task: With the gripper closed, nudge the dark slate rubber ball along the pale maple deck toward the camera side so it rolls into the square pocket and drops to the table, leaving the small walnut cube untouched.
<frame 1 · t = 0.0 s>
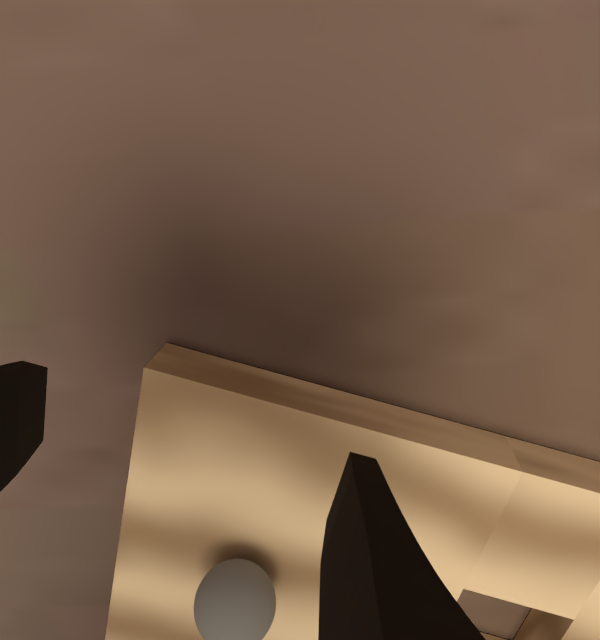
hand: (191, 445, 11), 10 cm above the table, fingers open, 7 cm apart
ball: (235, 603, 21), point 4 cm above the table, touching deck
deck: (387, 567, 25), on the table
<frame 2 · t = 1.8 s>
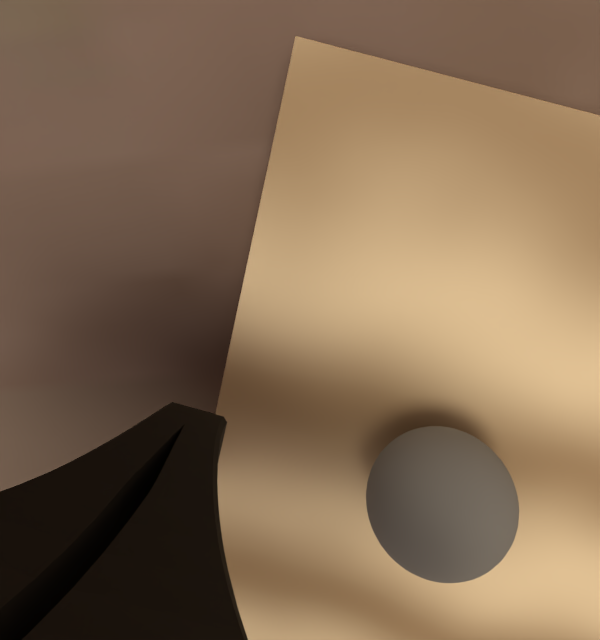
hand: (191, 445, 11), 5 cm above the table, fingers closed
ball: (439, 500, 12), point 4 cm above the table, touching deck
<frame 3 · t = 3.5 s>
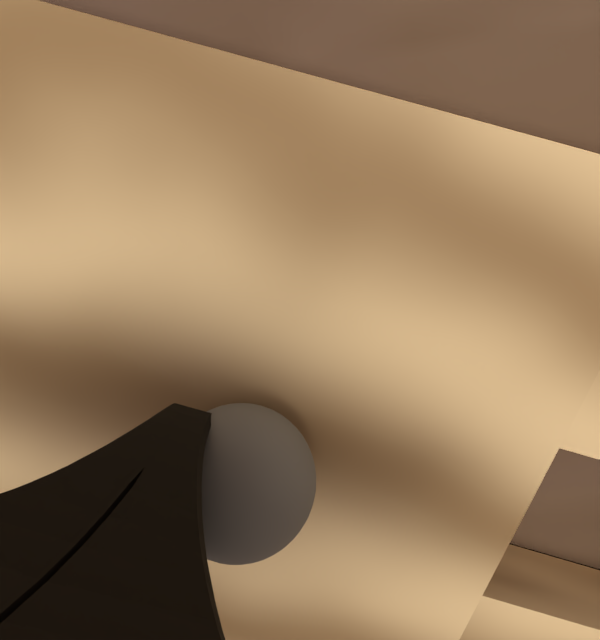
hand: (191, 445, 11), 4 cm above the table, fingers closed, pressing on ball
ball: (240, 480, 11), point 4 cm above the table, tilted 76°, touching deck, gripper
deck: (414, 446, 15), on the table
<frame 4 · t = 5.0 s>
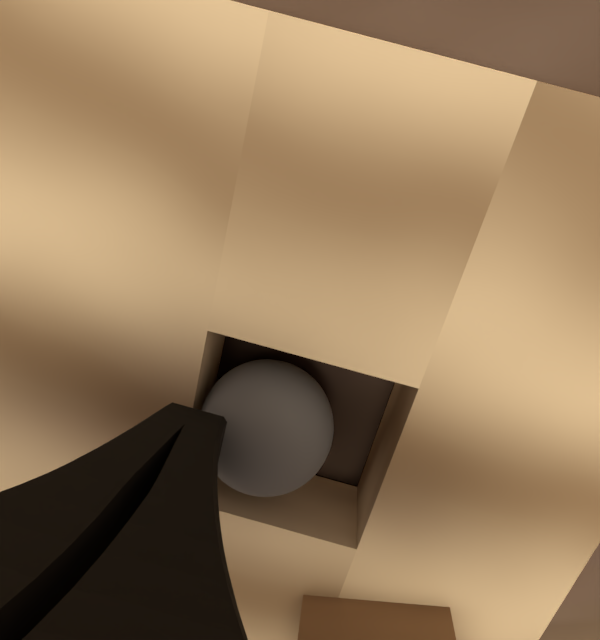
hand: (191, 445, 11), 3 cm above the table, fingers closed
ball: (266, 426, 13), point 2 cm above the table, tilted 76°
deck: (136, 352, 15), on the table
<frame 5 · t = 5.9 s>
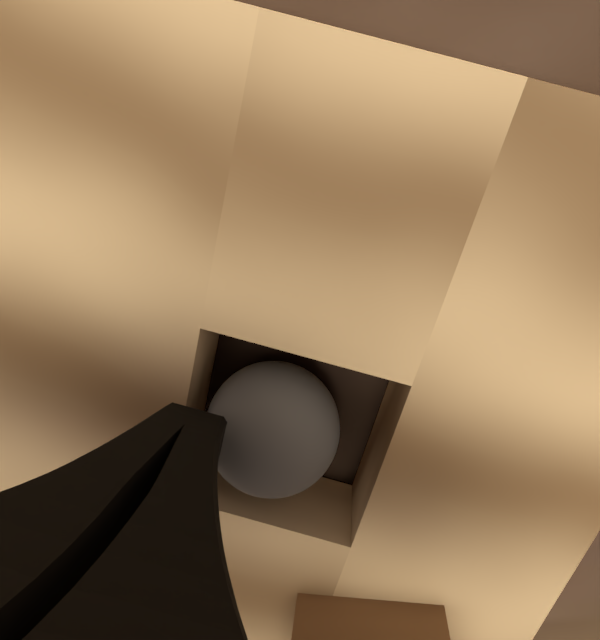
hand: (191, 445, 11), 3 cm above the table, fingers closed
ball: (273, 427, 13), point 2 cm above the table, tilted 87°
deck: (130, 351, 15), on the table
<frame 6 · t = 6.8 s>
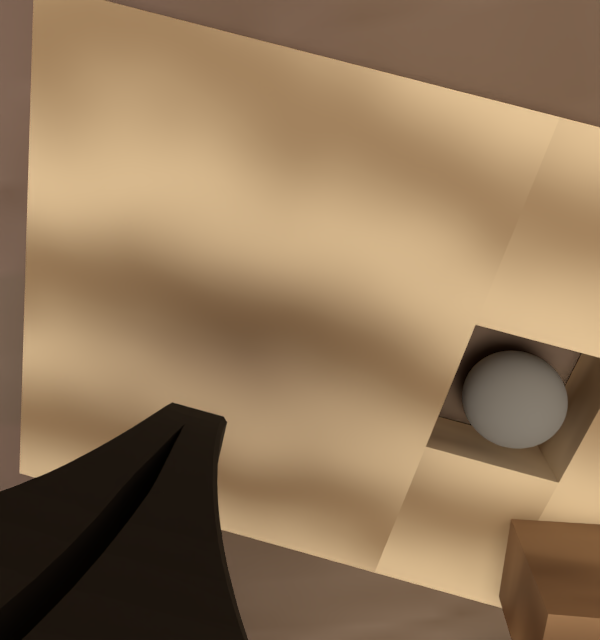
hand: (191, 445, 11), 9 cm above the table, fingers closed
walnut cube: (557, 562, 19), point 2 cm above the table, touching deck
ball: (512, 398, 18), point 2 cm above the table, tilted 98°
deck: (377, 342, 19), on the table
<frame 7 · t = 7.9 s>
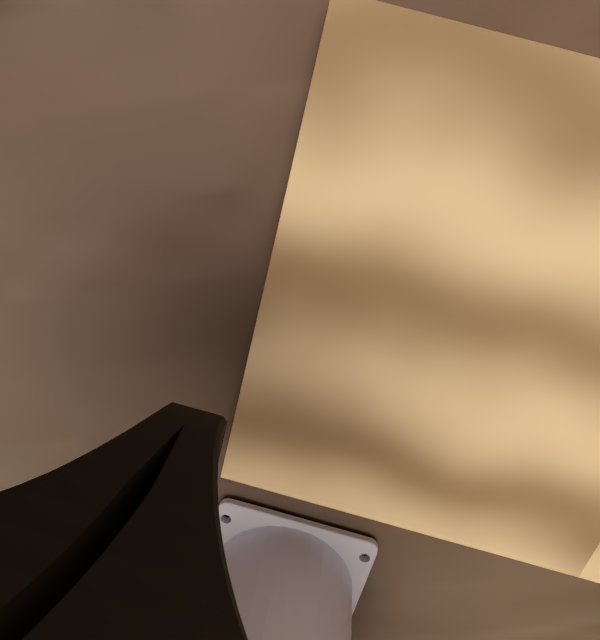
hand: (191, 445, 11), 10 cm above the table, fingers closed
deck: (591, 347, 20), on the table
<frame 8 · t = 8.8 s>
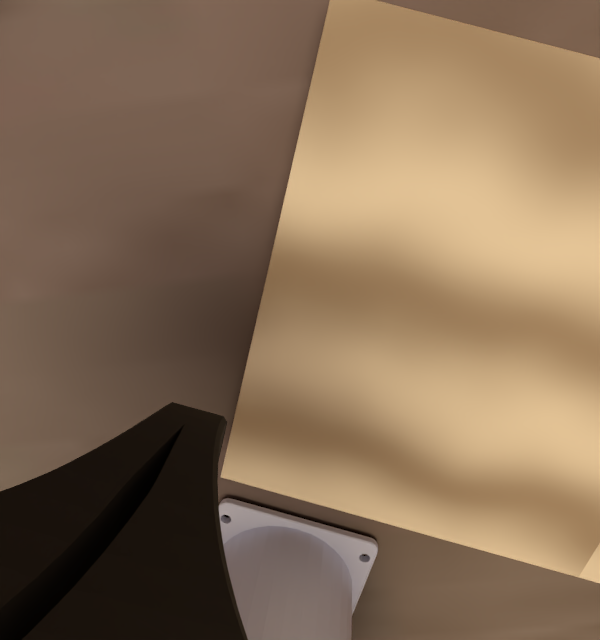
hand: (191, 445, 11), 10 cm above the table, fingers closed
deck: (591, 347, 20), on the table
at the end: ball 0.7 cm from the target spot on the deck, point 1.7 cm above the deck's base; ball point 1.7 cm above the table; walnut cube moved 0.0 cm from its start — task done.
